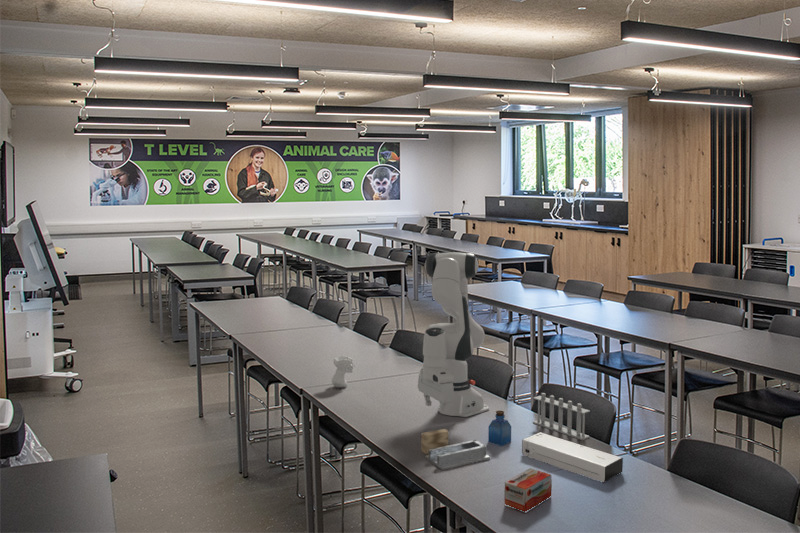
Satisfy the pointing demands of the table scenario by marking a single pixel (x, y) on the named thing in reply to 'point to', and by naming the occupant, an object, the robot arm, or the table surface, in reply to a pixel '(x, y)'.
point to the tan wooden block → (434, 440)
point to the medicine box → (527, 489)
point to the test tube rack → (561, 416)
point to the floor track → (457, 454)
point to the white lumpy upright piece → (342, 370)
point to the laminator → (572, 456)
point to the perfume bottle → (499, 430)
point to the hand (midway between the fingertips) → (434, 408)
